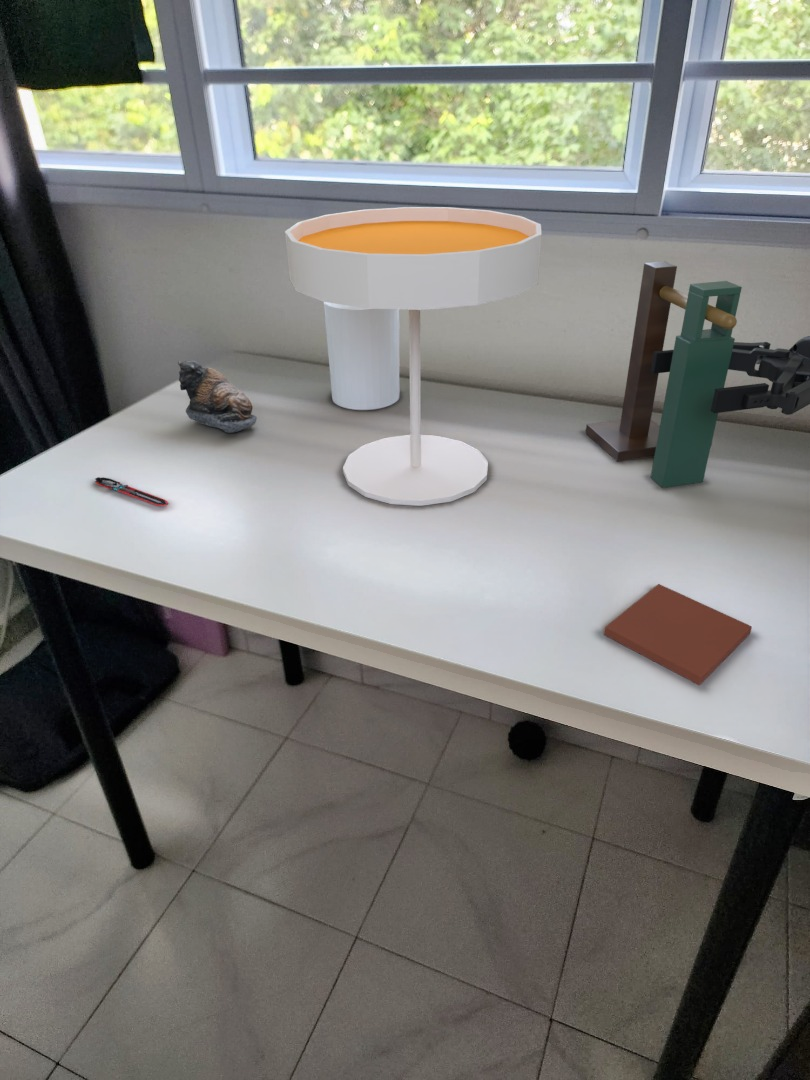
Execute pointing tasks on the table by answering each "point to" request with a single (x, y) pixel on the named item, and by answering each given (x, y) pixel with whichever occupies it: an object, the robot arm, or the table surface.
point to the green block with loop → (694, 387)
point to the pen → (130, 491)
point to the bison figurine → (214, 398)
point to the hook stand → (646, 366)
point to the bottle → (363, 355)
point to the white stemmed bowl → (414, 315)
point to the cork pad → (678, 633)
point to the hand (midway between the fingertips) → (682, 380)
